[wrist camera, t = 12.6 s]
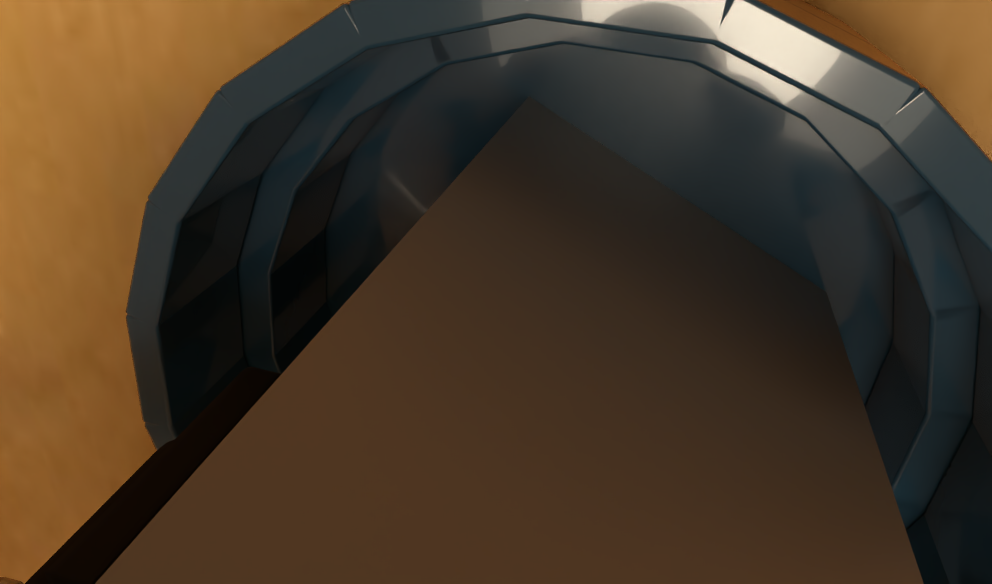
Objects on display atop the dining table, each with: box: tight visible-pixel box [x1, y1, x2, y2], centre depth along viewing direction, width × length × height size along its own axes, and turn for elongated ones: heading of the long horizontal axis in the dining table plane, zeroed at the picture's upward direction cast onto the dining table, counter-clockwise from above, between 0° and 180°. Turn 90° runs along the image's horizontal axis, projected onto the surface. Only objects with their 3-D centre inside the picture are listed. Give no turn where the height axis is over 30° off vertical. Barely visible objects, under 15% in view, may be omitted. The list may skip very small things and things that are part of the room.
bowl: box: [126, 0, 992, 584], centre depth 14 cm, size 14×14×6 cm
